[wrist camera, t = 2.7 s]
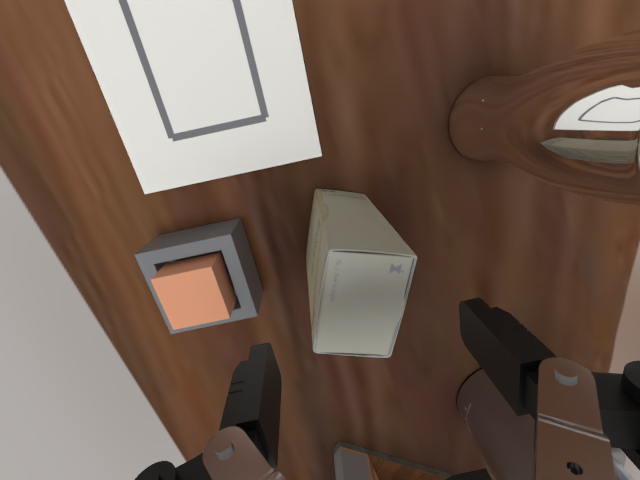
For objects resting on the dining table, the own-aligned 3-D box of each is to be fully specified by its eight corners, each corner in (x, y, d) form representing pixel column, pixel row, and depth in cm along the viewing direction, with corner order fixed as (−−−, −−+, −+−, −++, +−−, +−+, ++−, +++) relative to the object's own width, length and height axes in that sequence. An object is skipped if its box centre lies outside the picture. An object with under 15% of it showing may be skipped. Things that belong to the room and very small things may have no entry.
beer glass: (528, 54, 23) (893, -49, 9) (534, 149, 25) (827, 186, 11) (434, 87, 23) (640, 39, 9) (450, 177, 26) (630, 247, 12)
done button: (220, 252, 23) (211, 266, 21) (236, 299, 25) (230, 318, 22) (165, 263, 23) (150, 279, 21) (185, 310, 25) (173, 329, 23)
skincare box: (314, 187, 25) (325, 242, 14) (368, 193, 26) (421, 252, 14) (305, 258, 27) (308, 355, 16) (354, 262, 28) (392, 361, 17)
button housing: (240, 217, 26) (230, 234, 22) (263, 290, 28) (257, 316, 25) (158, 235, 26) (134, 254, 22) (188, 305, 28) (170, 334, 25)
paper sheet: (268, -117, 19) (268, -123, 18) (321, 155, 24) (322, 156, 24) (41, -65, 19) (35, -69, 18) (147, 193, 25) (144, 194, 24)
